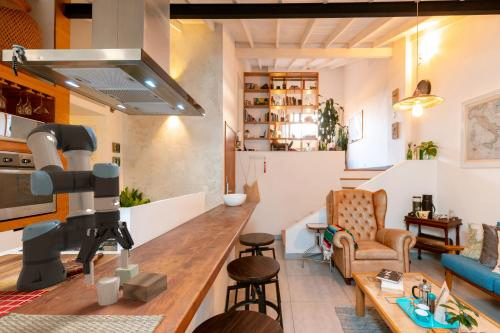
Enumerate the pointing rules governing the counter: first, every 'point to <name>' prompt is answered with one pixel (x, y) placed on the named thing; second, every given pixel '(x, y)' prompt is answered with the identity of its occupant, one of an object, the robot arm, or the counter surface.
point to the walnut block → (144, 286)
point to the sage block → (127, 273)
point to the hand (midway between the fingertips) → (108, 275)
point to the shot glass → (108, 290)
